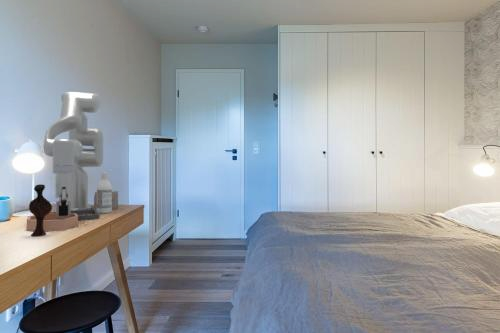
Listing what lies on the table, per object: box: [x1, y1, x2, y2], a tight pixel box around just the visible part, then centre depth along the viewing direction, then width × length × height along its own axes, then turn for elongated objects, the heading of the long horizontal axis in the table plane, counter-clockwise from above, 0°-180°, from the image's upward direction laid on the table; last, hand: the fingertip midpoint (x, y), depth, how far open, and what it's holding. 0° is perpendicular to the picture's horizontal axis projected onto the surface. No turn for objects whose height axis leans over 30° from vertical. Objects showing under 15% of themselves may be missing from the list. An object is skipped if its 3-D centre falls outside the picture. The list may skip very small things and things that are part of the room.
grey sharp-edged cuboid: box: [55, 200, 71, 218], centre depth 131 cm, size 4×5×6 cm
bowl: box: [26, 213, 79, 233], centre depth 129 cm, size 17×17×4 cm
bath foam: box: [96, 171, 113, 214], centre depth 161 cm, size 7×7×20 cm
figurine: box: [28, 183, 53, 237], centre depth 115 cm, size 7×5×18 cm
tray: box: [50, 208, 100, 221], centre depth 146 cm, size 15×20×2 cm
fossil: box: [93, 190, 119, 211], centre depth 169 cm, size 12×4×10 cm, turn 147°
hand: (63, 214), depth 131 cm, fingers closed on grey sharp-edged cuboid, 4 cm apart
